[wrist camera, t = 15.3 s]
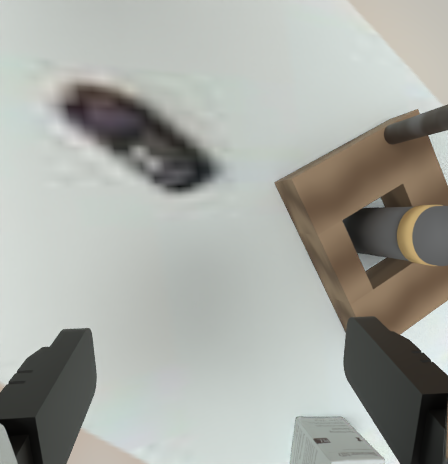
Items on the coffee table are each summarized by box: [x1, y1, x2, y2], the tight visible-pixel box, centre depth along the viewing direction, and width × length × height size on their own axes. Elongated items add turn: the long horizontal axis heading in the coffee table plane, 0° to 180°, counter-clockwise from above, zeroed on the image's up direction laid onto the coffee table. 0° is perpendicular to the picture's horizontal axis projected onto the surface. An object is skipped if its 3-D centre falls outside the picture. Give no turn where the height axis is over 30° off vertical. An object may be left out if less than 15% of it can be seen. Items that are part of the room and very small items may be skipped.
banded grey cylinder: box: [342, 205, 448, 266], centre depth 34 cm, size 5×5×11 cm
